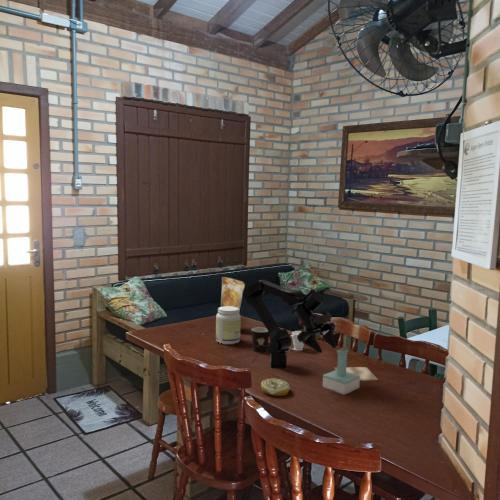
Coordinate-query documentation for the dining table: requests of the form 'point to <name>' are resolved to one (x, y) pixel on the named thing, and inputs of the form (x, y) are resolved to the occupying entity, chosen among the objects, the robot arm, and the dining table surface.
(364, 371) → the board
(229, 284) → the pancake mix bag
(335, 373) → the lid
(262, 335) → the coffee mug
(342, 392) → the tub
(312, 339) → the robot arm
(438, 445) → the dining table surface
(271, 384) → the decorated donut
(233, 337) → the supplement tub
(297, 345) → the cup
